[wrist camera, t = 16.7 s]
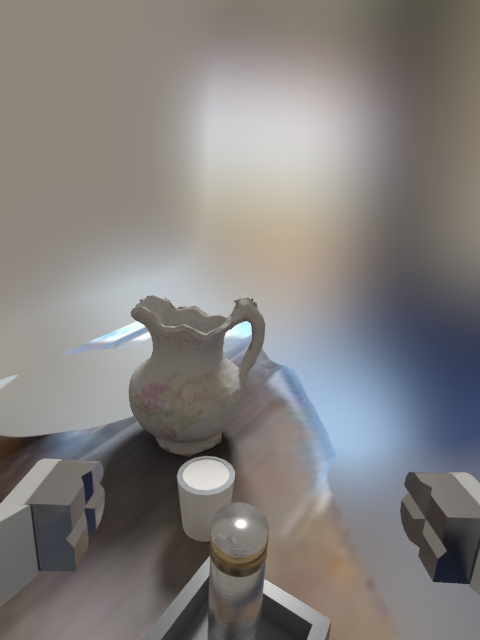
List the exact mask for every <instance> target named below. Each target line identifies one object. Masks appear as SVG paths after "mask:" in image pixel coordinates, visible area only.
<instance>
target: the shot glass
mask: <svg viewBox="0 0 480 640" xmlns="http://www.w3.org/2000/svg"><path fill="white" fill-rule="evenodd" d="M234 479H235V471H234V469H233V467H232V465H231V464H229V463H228V462H227V461H226V460H224V459H221V458H218V457H214V456H202V457H196V458H193V459H191V460H189V461H187V462H185V463H184V464H183V465H182V466H181V467H180V468H179V471H178V474H177V482H178V491H179V499H180V508H181V517H182V525H183V530H184V532H185V533H186V534H187V535H188V537H190V538H192V539H194V540H196V541H203V542H208V541H210V529H211V521H212V518H213V516H214V514H215V513H216V511H217V510H218V509H220V508H221V507H223V506H225V505H227V504H230V503H231V499H232V493H233V486H234Z"/></svg>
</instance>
